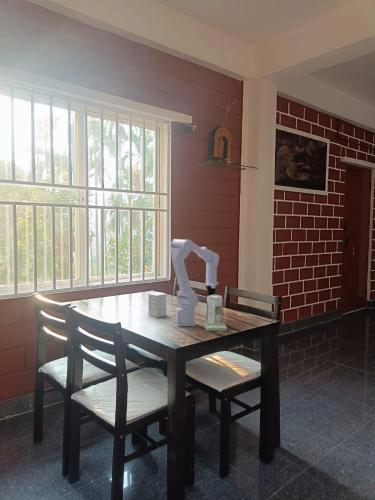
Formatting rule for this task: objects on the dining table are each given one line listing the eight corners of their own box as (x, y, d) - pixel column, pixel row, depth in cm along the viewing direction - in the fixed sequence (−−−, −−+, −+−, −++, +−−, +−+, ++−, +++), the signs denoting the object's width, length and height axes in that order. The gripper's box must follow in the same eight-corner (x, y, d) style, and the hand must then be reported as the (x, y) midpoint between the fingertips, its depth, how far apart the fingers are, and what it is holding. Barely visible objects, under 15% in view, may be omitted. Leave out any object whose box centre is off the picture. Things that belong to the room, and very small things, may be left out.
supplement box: (158, 313, 209) (158, 291, 208) (166, 316, 203) (166, 293, 203) (147, 315, 204) (148, 293, 203) (156, 318, 198) (156, 295, 197)
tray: (206, 330, 177) (206, 327, 177) (203, 325, 186) (203, 322, 186) (226, 330, 178) (226, 327, 178) (223, 325, 187) (223, 322, 187)
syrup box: (213, 321, 194) (213, 294, 193) (221, 323, 190) (222, 295, 189) (206, 323, 190) (206, 295, 189) (214, 325, 186) (215, 297, 185)
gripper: (221, 276, 193) (220, 301, 194) (216, 272, 207) (215, 296, 208) (207, 276, 192) (207, 301, 193) (203, 272, 206) (203, 296, 207)
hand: (210, 299), depth 200 cm, fingers closed
